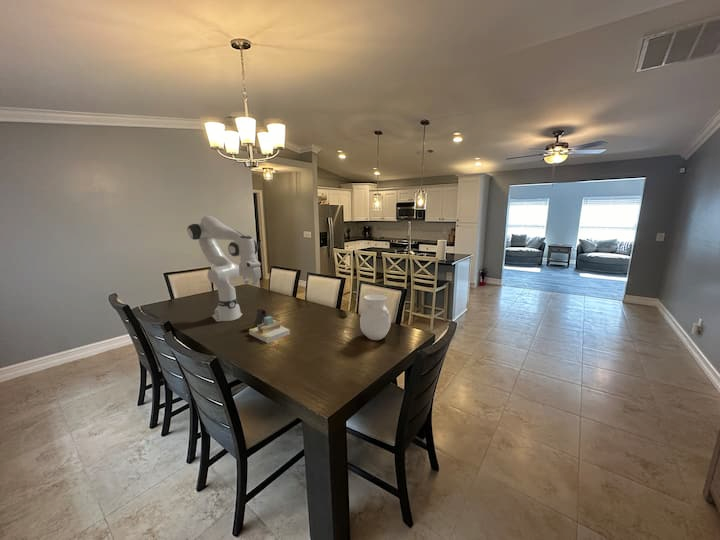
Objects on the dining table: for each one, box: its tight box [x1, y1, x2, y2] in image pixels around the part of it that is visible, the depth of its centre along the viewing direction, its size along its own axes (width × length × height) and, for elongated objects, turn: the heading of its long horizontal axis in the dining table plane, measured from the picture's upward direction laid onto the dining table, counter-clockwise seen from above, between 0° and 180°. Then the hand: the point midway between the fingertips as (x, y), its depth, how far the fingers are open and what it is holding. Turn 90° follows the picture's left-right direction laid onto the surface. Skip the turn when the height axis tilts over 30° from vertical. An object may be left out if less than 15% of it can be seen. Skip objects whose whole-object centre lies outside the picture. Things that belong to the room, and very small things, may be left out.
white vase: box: [359, 293, 392, 341], centre depth 169 cm, size 19×18×25 cm
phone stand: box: [253, 308, 268, 328], centre depth 189 cm, size 9×6×12 cm, turn 136°
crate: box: [263, 315, 274, 325], centre depth 176 cm, size 4×4×4 cm
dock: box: [248, 325, 291, 344], centre depth 177 cm, size 20×16×3 cm
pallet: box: [257, 319, 281, 334], centre depth 177 cm, size 6×12×4 cm, turn 140°
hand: (250, 284), depth 176 cm, fingers open, 8 cm apart
